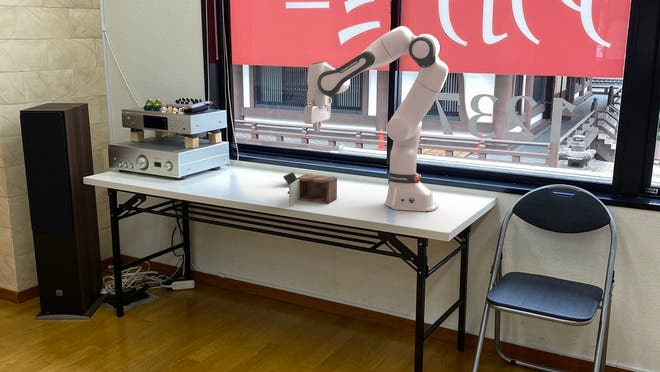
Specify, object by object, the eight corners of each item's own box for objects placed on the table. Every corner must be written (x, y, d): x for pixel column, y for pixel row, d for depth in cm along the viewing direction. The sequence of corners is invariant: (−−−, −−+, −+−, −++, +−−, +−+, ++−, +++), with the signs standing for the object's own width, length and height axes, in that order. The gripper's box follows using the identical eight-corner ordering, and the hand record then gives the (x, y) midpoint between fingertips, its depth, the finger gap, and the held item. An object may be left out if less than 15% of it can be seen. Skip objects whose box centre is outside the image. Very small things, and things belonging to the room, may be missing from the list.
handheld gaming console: (305, 185, 299) (293, 168, 300) (293, 194, 300) (281, 177, 301) (310, 184, 310) (299, 167, 311) (299, 192, 312) (287, 175, 312)
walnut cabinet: (336, 199, 280) (337, 177, 277) (328, 203, 271) (329, 181, 269) (305, 195, 285) (305, 174, 283) (297, 200, 277) (297, 177, 275)
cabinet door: (291, 205, 264) (291, 185, 262) (286, 205, 265) (286, 184, 263) (299, 199, 276) (299, 179, 274) (295, 198, 276) (295, 178, 275)
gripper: (314, 102, 263) (313, 135, 266) (333, 99, 281) (332, 130, 284) (300, 101, 265) (300, 134, 268) (320, 98, 284) (319, 129, 287)
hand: (317, 132), depth 276 cm, fingers closed
